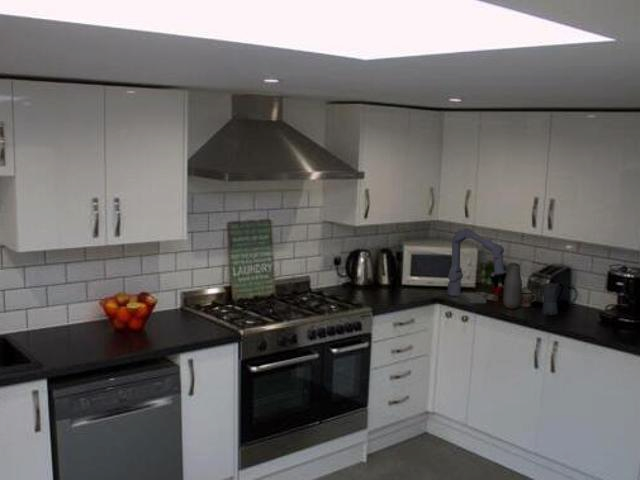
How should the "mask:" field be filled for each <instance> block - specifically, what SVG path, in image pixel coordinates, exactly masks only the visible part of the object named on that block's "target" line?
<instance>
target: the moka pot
mask: <svg viewBox="0 0 640 480" xmlns="http://www.w3.org/2000/svg"><path fill="white" fill-rule="evenodd" d="M552 281H553V280H549V282H548V283H543V284H541V286H540V288H541V290H542V297H543V302H542V303H543V304H542V309H541V314H543V315H545V316H547V315H548V316H555V315H558V314H559V310H558V302H557V301H558V300H559V299H561V297H562V294H563V290H564V287H565V286H564V284H563V283H562V282H559V283H552ZM559 287H561V288H560V292H559Z"/></svg>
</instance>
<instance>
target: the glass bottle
mask: <svg viewBox="0 0 640 480" xmlns="http://www.w3.org/2000/svg"><path fill="white" fill-rule="evenodd" d="M506 269H507V274H506V277H505V281H504V286H503V297H502V298H503V299H502V300H503V306H504V308H506V309H511V310H515V309H517V308H519V307H520V306H519V305H520V302H521V291H522V288H523V282H522V277H521V265H520V264H519V263H517V262H510V263H508V265H507V266H506Z"/></svg>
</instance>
